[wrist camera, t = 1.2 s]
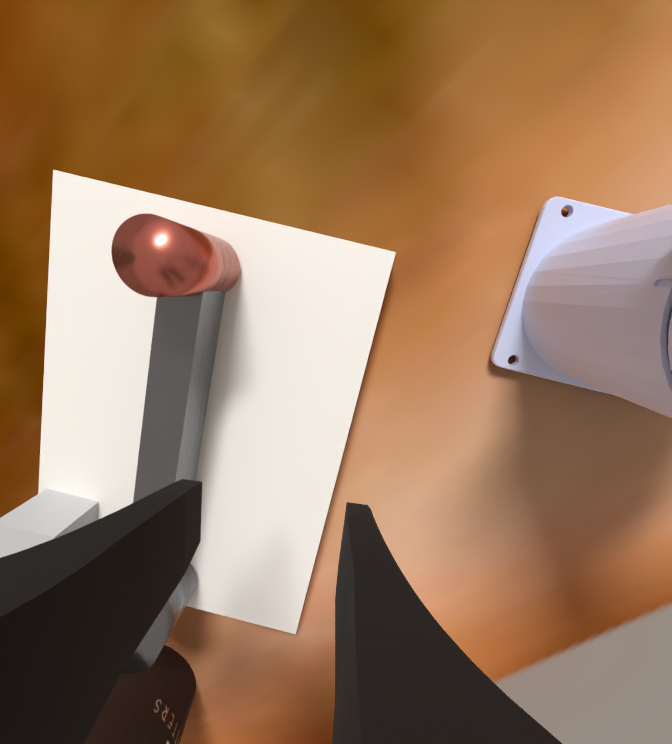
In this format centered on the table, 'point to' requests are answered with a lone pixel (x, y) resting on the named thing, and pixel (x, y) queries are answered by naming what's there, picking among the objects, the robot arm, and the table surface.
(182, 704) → the coffee mug
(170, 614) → the lever
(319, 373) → the white flat block
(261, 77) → the table surface
